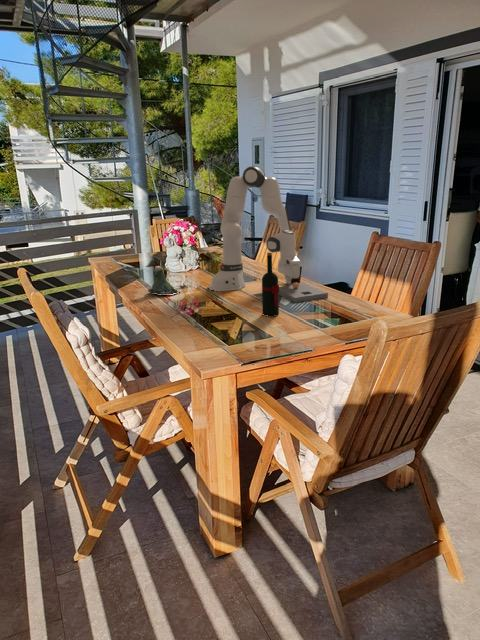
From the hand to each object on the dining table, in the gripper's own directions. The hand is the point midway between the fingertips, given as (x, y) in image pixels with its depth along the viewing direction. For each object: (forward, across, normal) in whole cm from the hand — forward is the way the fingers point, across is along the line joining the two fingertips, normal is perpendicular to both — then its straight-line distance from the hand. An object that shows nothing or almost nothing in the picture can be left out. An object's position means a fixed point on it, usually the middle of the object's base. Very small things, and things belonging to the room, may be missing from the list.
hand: (288, 283), depth 277 cm
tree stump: (+4, -30, -65) cm, 72 cm away
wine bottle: (+4, +40, -30) cm, 50 cm away
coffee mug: (+4, -15, +11) cm, 19 cm away
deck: (+4, +14, 0) cm, 15 cm away
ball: (-1, +9, 0) cm, 9 cm away
